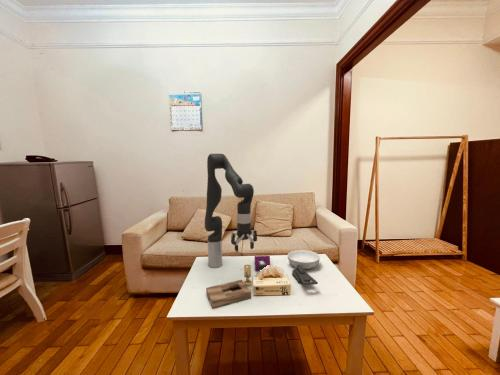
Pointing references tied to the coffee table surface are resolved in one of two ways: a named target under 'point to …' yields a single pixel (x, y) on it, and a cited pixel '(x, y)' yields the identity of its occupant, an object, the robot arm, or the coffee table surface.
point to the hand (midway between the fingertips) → (244, 250)
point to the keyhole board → (227, 293)
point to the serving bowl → (303, 258)
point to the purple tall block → (257, 258)
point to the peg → (247, 274)
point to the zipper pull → (303, 276)
